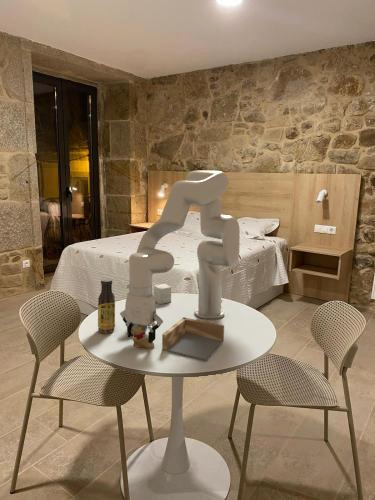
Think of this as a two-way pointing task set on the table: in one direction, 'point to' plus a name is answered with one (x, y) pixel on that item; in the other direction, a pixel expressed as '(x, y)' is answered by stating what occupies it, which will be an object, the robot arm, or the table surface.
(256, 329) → the table surface
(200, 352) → the slate mat
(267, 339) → the table surface
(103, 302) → the sauce bottle
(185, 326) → the corner rails
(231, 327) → the table surface
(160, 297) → the skincare box
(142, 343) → the tan rounded piece
